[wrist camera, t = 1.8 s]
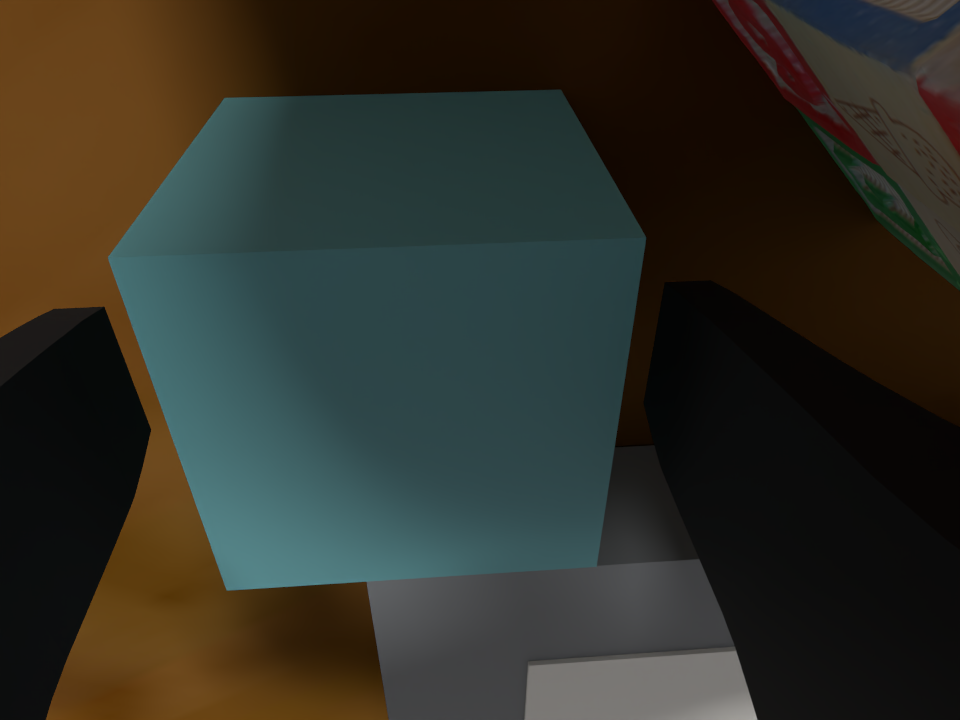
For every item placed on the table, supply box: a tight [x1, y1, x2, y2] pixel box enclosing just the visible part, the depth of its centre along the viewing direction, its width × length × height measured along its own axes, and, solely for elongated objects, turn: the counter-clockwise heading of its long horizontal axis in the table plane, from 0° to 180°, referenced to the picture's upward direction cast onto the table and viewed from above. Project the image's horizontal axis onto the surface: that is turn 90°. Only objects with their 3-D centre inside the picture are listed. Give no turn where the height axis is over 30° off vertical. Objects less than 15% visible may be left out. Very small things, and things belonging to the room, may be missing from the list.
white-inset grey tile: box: [367, 445, 757, 720], centre depth 18 cm, size 14×14×3 cm
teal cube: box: [108, 90, 646, 591], centre depth 10 cm, size 5×5×5 cm
